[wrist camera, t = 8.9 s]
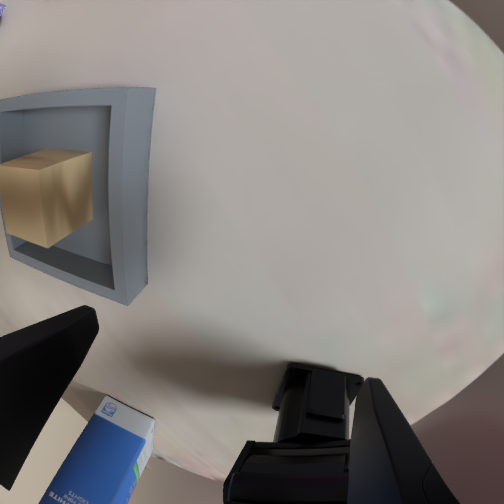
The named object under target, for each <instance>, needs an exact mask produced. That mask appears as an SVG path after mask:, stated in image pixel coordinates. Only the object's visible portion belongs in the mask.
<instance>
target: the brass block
mask: <svg viewBox="0 0 504 504" xmlns="http://www.w3.org/2000/svg"><path fill="white" fill-rule="evenodd" d="M0 193H1V201H2V208H3V214H4V220H5V226H6V231H7V233H8V234H11V235H13V236H16V237H19V238H21V239H24V240H26V241H29V242H32V243H34V244H37V245H40V246H42V247H45V248H49V247H51V246H52V245H54V244H55V243H57V242H58V241H60V240H61V239H63V238H64V237H66V236H67V235H69V234H70V233H72V232H74V231H75V230H77V229H78V228H80V227H81V226H83V225H85V224H86V223H88V222H90V221H91V220H93V202H92V152H85V151H73V150H60V149H44V150H41V151H37V152H34V153H31V154H28V155H25V156H22V157H19V158H16V159H13V160H11V161H8V162H5V163H2V164H0Z"/></svg>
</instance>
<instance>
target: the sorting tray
mask: <svg viewBox="0 0 504 504" xmlns="http://www.w3.org/2000/svg"><path fill="white" fill-rule="evenodd" d="M155 91H156V88H94V89H78V90H66V91H56V92H47V93H39V94H31V95H25V96H18V97H12V98H7V99H2V100H0V164H2V163H5V162H8V161H11V160H13V159H16V158H19V157H22V156H25V155H28V154H31V153H34V152H37V151H41V150H44V149H60V150H73V151H85V152H92V202H93V220H91V221H90V222H88V223H86V224H85V225H83V226H81V227H80V228H78V229H77V230H75V231H74V232H72V233H70V234H69V235H67V236H66V237H64V238H63V239H61V240H60V241H58V242H57V243H55V244H54V245H52V246H51V247H49V248H45V247H42V246H40V245H37V244H34V243H32V242H29V241H26V240H24V239H21V238H19V237H16V236H13V235H11V234H8V233H7V231H6V226H5V220H4V214H3V208H2V201H1V193H0V206H1V213H2V219H3V225H4V230H5V236H6V241H7V245H8V250H9V254H10V257H12V258H14V259H16V260H18V261H20V262H22V263H24V264H26V265H29V266H31V267H33V268H35V269H37V270H40V271H42V272H44V273H46V274H49V275H51V276H53V277H55V278H58V279H60V280H63V281H65V282H67V283H70V284H72V285H75V286H77V287H79V288H82V289H84V290H87V291H89V292H92V293H95V294H97V295H100V296H102V297H105V298H108V299H110V300H113V301H116V302H118V303H121V304H124V305H127V306H128V305H129V304H130V303H131V302H132V301H133V300H134V299H135V297H136V296H137V295H138V294H139V293H140V292H141V291H142V290H143V288H144V287H145V286H146V285H147V284H148V277H147V194H148V171H149V154H150V141H151V129H152V118H153V108H154V99H155Z"/></svg>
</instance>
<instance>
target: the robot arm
mask: <svg viewBox="0 0 504 504" xmlns="http://www.w3.org/2000/svg"><path fill="white" fill-rule="evenodd" d="M98 331H99V324H98V319H97V315H96V311H95V309H94V308H92V307H89V306H86V305H83V306H80V307H78V308H75V309H72V310H70V311H67V312H64V313H62V314H59V315H57V316H54V317H51V318H49V319H46V320H43V321H41V322H38V323H36V324H33V325H30V326H28V327H25V328H23V329H20V330H17V331H15V332H12V333H10V334H7V335H4V336H2V337H0V485H2V486H3V487H4V488H6V489H7V490H10V489H11V488H12V485H13V483H14V481H15V480H16V477H17V475H18V473H19V472H20V470H21V468H22V466H23V464H24V462H25V460H26V458H27V456H28V454H29V452H30V450H31V448H32V447H33V445H34V443H35V441H36V439H37V438H38V436H39V434H40V432H41V430H42V429H43V427H44V425H45V423H46V422H47V420H48V418H49V416H50V415H51V413H52V412H53V410H54V408H55V406H56V405H57V403H58V402H59V400H60V398H61V397H62V395H63V393H64V392H65V390H66V389H67V387H68V385H69V384H70V382H71V381H72V379H73V377H74V376H75V374H76V373H77V371H78V369H79V368H80V366H81V364H82V363H83V361H84V359H85V357H86V355H87V353H88V351H89V349H90V347H91V345H92V343H93V341H94V339H95V338H96V336H97V334H98ZM292 369H295V370H292ZM356 396H357V397H356ZM355 397H356V403H355V412H354V419H353V427H352V434H351V439H349V406H350V405H351V403H352V402H353V400H354V399H355ZM272 408H273V409H274V410H276V411H279V415H278V420H277V425H276V430H275V435H274V440H273V442H255V441H250V440H248V441H247V442H246V444H245V446H244V448H243V449H242V451H241V453H240V455H239V456H238V458H237V460H236V462H235V464H234V466H233V467H232V469H231V471H230V473H229V475H228V476H227V478H226V480H225V482H224V485H223V486H224V488H223V503H224V504H460V502H459V501H458V500H457V498H456V497H455V496H454V494H453V493H452V492H451V490H450V489H449V487H448V486H447V484H446V483H445V482H444V480H443V478H442V477H441V475H440V474H439V472H438V470H437V469H436V467H435V465H434V464H433V463H432V460H431V459H430V457H429V455H428V454H427V452H426V450H425V449H424V447H423V446H422V444H421V442H420V441H419V439H418V437H417V436H416V434H415V433H414V431H413V429H412V428H411V426H410V425H409V423H408V421H407V420H406V418H405V417H404V415H403V413H402V412H401V410H400V409H399V407H398V406H397V404H396V402H395V401H394V399H393V398H392V396H391V395H390V393H389V391H388V390H387V388H386V387H385V385H384V384H383V382H382V381H381V380H380V379H379V378H372V377H368V378H367V379H366V380H365V381H364V378H363V377H361V376H355V375H350V374H344V373H339V372H333V371H328V370H323V369H318V368H313V367H309V366H304V365H299V364H295V363H291V364H289V365H288V366H287V368H286V371H285V373H284V376H283V379H282V381H281V384H280V386H279V389H278V392H277V394H276V397H275V399H274V402H273V405H272Z"/></svg>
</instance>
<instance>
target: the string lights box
mask: <svg viewBox="0 0 504 504" xmlns="http://www.w3.org/2000/svg"><path fill="white" fill-rule="evenodd" d="M154 423H155V420H154V419H153V418H151V417H149V416H146V415H144V414H142V413H140V412H138V411H136V410H134V409H132V408H130V407H128V406H126V405H124V404H122V403H120V402H118V401H116V400H114V399H112V398H111V397H109V396H107V395H106V396H105V397H104V399H103V400H102V402H101V404H100V405H99V407H98V408H97V410H96V411H95V413H94V414H93V416H92V418H91V419H90V421H89V422H88V424H87V425H86V427H85V429H84V430H83V432H82V433H81V435H80V436H79V438H78V439H77V441H76V443H75V444H74V446H73V447H72V449H71V451H70V453H69V454H68V455H67V457H66V459H65V460H64V462H63V464H62V465H61V467H60V468H59V470H58V472H57V474H56V475H55V477H54V478H53V480H52V482H51V483H50V485H49V487H48V488H47V490H46V492H45V494H44V495H43V497H42V499H41V500H40V502H39V504H128V502H129V499H130V497H131V495H132V493H133V491H134V489H135V487H136V484H137V482H138V480H139V478H140V476H141V474H142V472H143V470H144V467H145V465H146V463H147V461H148V459H149V457H150V455H151V453H152V451H153V436H154Z"/></svg>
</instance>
